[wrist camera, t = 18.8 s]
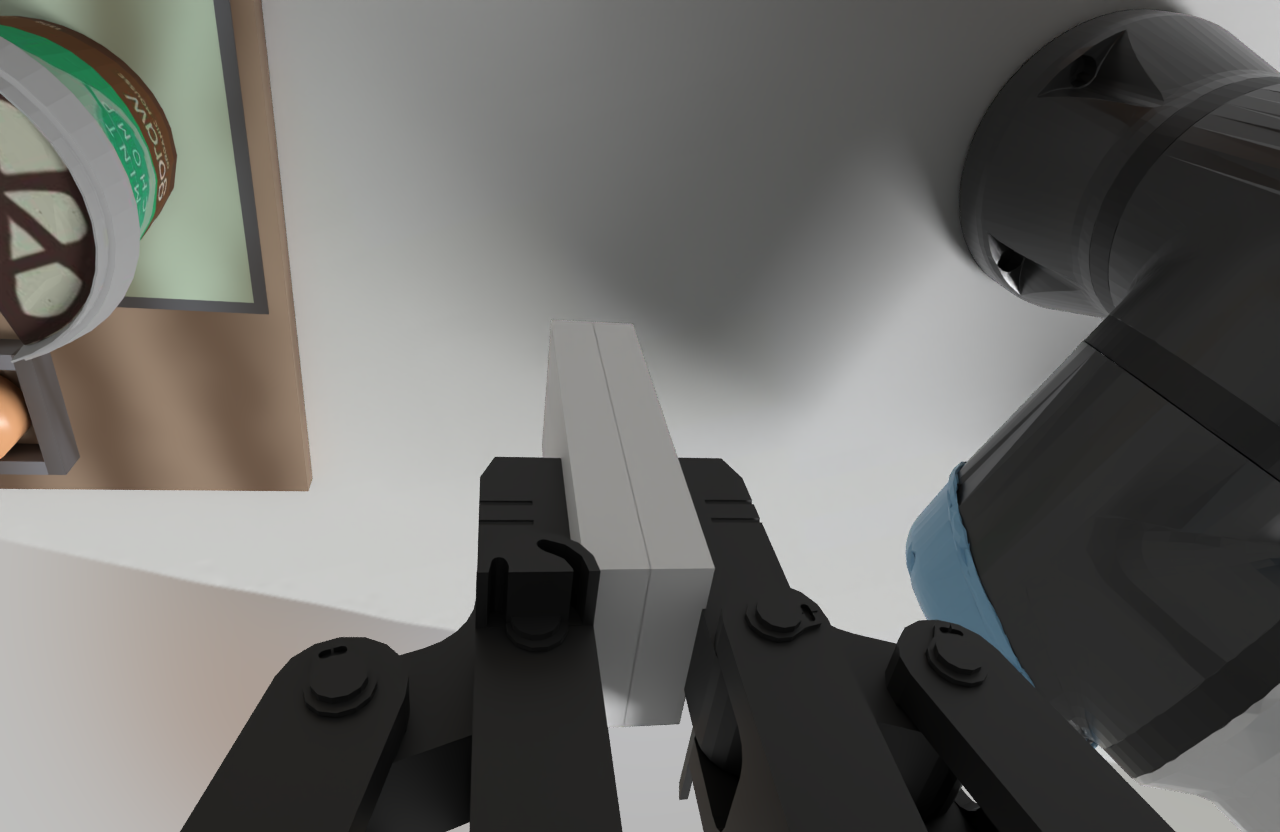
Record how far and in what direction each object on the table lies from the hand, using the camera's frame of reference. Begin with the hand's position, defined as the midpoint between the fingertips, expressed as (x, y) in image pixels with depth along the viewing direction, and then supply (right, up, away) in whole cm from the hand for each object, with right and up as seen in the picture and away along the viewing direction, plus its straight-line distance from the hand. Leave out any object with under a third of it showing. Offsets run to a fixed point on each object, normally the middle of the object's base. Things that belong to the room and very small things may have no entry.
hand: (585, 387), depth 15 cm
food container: (-21, +12, +19) cm, 31 cm away
